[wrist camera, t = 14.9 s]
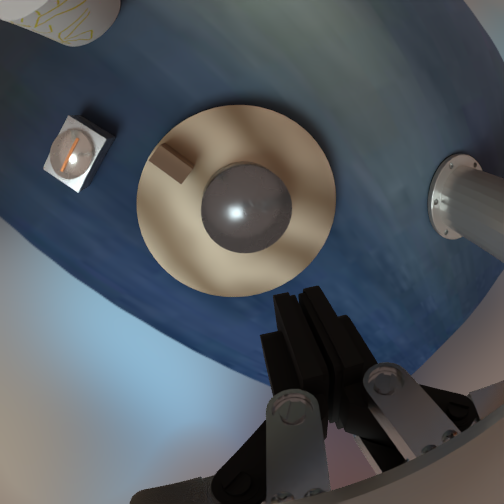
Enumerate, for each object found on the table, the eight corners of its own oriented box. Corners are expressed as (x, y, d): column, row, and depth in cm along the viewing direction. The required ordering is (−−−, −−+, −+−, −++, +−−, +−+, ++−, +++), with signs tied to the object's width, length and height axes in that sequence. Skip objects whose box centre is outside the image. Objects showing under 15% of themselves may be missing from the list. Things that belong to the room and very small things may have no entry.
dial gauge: (80, 115, 24) (65, 115, 21) (115, 137, 26) (103, 139, 23) (56, 163, 26) (39, 170, 22) (89, 185, 27) (75, 194, 24)
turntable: (224, 66, 24) (227, 56, 20) (363, 193, 31) (384, 204, 27) (106, 223, 29) (91, 240, 24) (248, 317, 36) (254, 341, 32)
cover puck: (238, 144, 26) (241, 146, 23) (300, 196, 29) (309, 204, 26) (185, 209, 28) (182, 219, 25) (248, 255, 31) (252, 268, 28)
